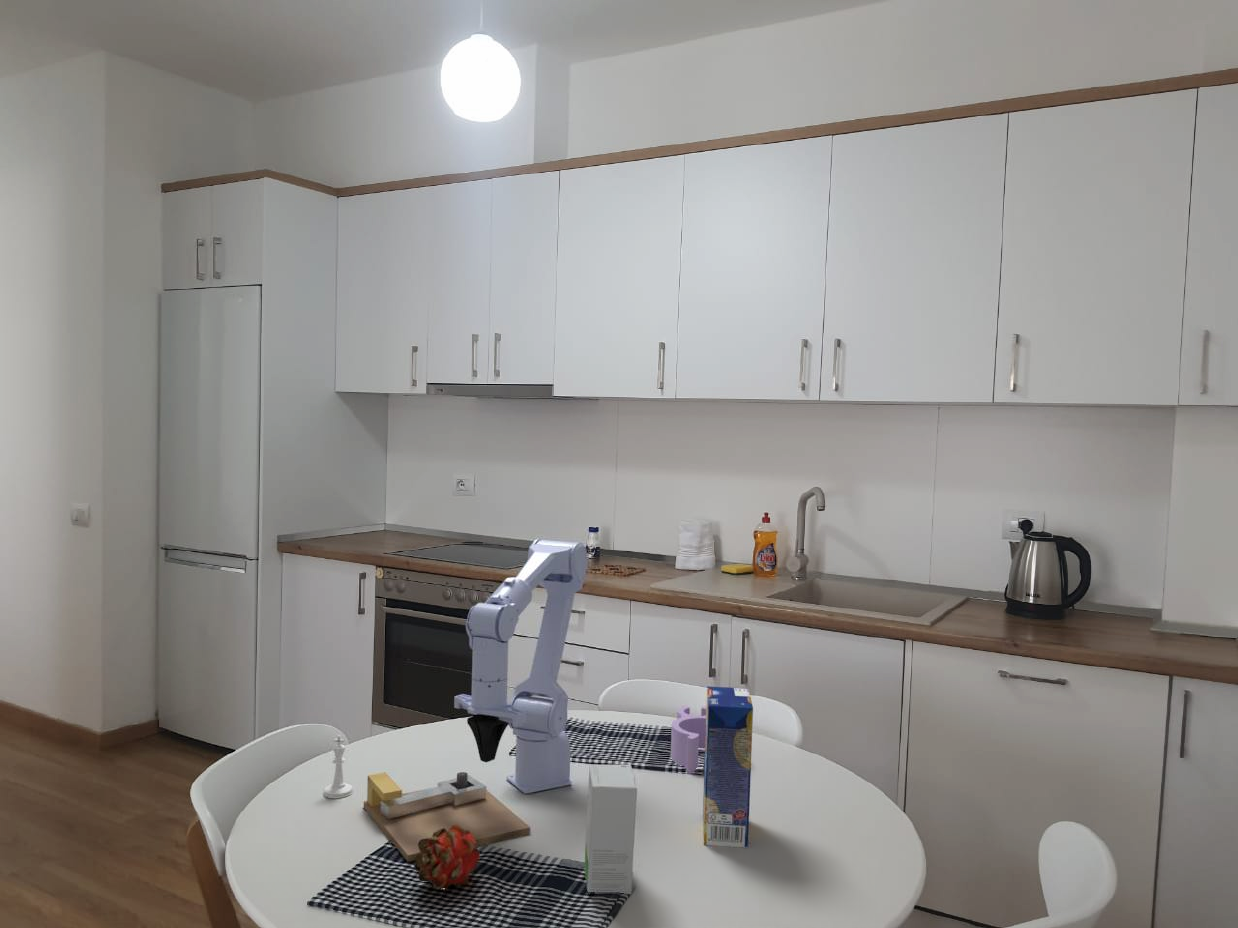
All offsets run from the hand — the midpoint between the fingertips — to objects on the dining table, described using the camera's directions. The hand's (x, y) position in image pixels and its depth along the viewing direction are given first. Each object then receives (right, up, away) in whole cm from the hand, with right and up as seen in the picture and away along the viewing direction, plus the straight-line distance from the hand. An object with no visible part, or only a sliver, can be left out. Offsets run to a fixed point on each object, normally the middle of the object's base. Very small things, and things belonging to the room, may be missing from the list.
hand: (487, 759), depth 150 cm
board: (-7, -10, 0) cm, 12 cm away
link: (-10, -8, +3) cm, 13 cm away
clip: (+38, -10, +33) cm, 51 cm away
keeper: (-17, -8, +1) cm, 19 cm away
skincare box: (+20, -12, -19) cm, 30 cm away
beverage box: (+38, -11, -1) cm, 40 cm away
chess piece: (-27, -9, +9) cm, 30 cm away
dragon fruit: (-3, -11, -20) cm, 23 cm away
